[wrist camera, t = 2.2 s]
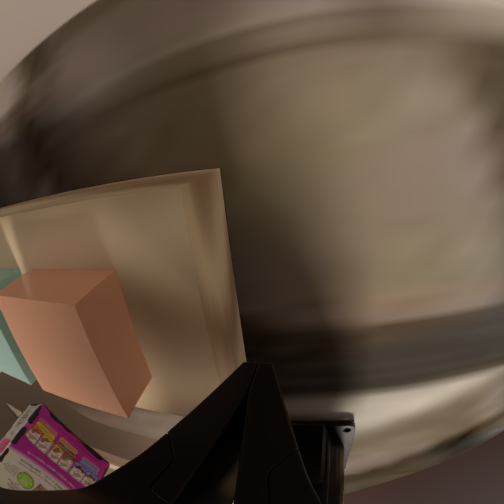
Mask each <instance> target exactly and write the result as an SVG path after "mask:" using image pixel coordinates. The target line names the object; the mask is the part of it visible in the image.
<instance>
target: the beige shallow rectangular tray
mask: <svg viewBox="0 0 504 504" xmlns="http://www.w3.org/2000/svg"><path fill="white" fill-rule="evenodd" d="M0 268H12V269H20V270H21V273H22V275H23V274H25V273H26V272H28V271H29V270H31V269H116V273H117V276H118V279H119V283H120V286H121V290H122V293H123V296H124V299H125V303H126V306H127V309H128V312H129V315H130V318H131V321H132V324H133V327H134V330H135V332H136V335H137V338H138V341H139V344H140V346H141V349H142V352H143V354H144V357H145V360H146V362H147V365H148V367H149V370H150V372H151V375H152V378H151V380H150V382H149V383H148V385H147V387H146V388H145V390H144V392H143V393H142V395H141V397H140V399H139V400H138V402H137V404H136V405H135V407H139V408H144V409H148V410H153V411H158V412H163V413H168V414H174V415H179V416H187V415H188V414H189V413H190V412H191V411H192V410H193V409H194V408H195V407H197V406H198V405H199V404H200V403H201V402H202V401H203V400H204V399H205V398H206V397H207V396H208V395H210V394H211V393H212V392H213V391H214V390H215V389H216V388H217V387H218V386H219V385H220V384H221V383H222V382H223V381H224V380H225V379H226V378H227V377H229V376H230V375H231V374H232V373H233V372H234V371H235V370H236V369H237V368H238V367H239V366H240V365H241V364H242V363H243V362H247V361H246V355H245V348H244V342H243V335H242V328H241V322H240V315H239V308H238V301H237V294H236V287H235V280H234V273H233V266H232V258H231V251H230V244H229V236H228V229H227V221H226V213H225V206H224V198H223V190H222V182H221V174H220V168H216V169H206V170H197V171H189V172H181V173H173V174H166V175H159V176H152V177H145V178H139V179H132V180H126V181H120V182H115V183H109V184H103V185H98V186H93V187H88V188H82V189H77V190H73V191H68V192H63V193H59V194H54V195H50V196H45V197H41V198H37V199H33V200H28V201H24V202H20V203H17V204H13V205H9V206H5V207H1V208H0Z"/></svg>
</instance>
